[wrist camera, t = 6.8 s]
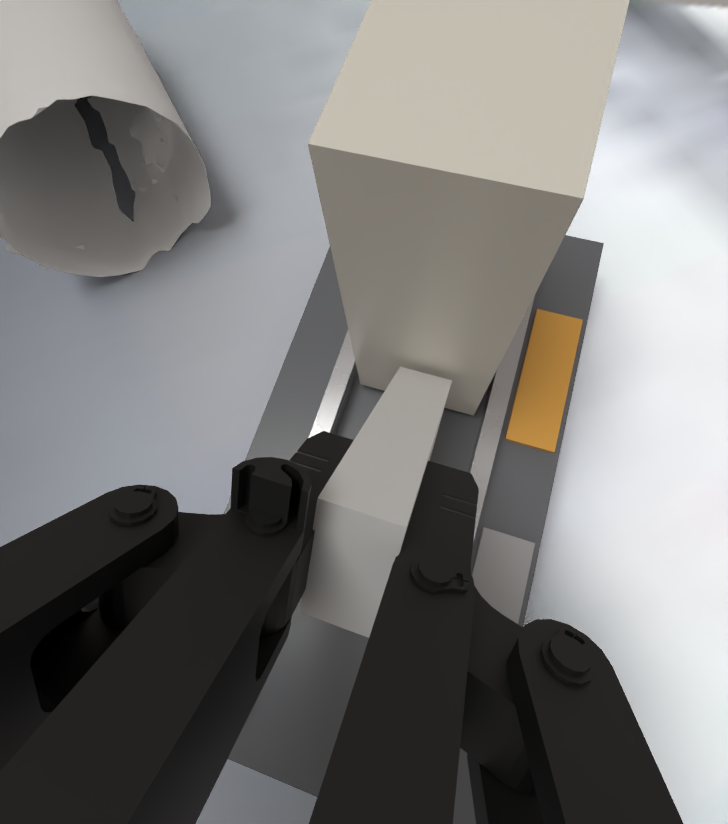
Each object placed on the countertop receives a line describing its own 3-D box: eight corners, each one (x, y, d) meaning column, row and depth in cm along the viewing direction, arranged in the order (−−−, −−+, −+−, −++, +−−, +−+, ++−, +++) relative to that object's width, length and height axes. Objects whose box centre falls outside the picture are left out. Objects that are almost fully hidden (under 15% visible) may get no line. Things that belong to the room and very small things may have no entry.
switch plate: (461, 815, 15) (479, 888, 12) (178, 698, 17) (122, 733, 13) (579, 280, 20) (615, 225, 17) (357, 230, 22) (349, 171, 19)
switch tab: (473, 415, 16) (583, 198, 6) (360, 384, 17) (307, 143, 7) (507, 289, 17) (639, -45, 8) (401, 264, 18) (403, -73, 8)
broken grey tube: (117, 2, 28) (14, -205, 21) (238, 233, 22) (157, 63, 15) (-11, 55, 27) (-166, -139, 20) (80, 306, 22) (-90, 168, 14)
